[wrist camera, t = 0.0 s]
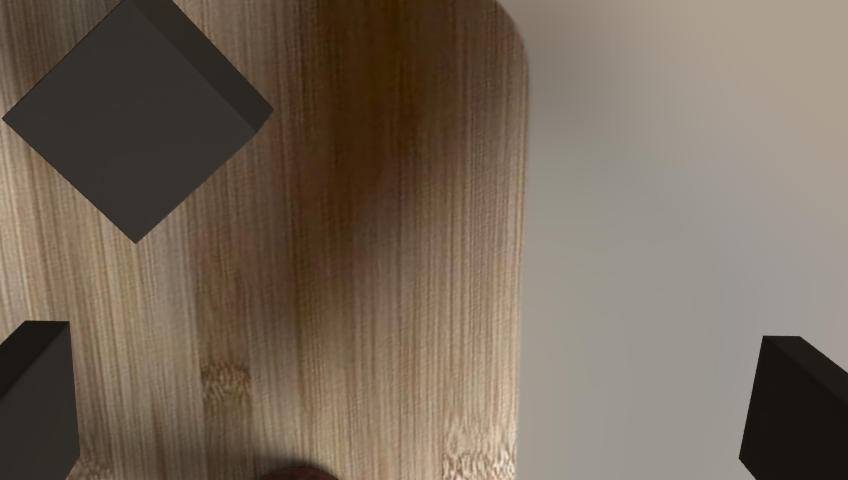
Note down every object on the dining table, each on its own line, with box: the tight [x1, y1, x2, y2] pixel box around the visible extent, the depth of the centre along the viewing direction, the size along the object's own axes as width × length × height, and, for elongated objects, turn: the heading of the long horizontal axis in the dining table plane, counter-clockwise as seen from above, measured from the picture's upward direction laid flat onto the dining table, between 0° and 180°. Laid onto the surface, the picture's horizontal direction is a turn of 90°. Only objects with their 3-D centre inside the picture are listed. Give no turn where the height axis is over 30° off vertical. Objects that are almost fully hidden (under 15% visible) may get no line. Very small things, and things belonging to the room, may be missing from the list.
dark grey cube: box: [2, 0, 274, 244], centre depth 30 cm, size 6×6×6 cm
